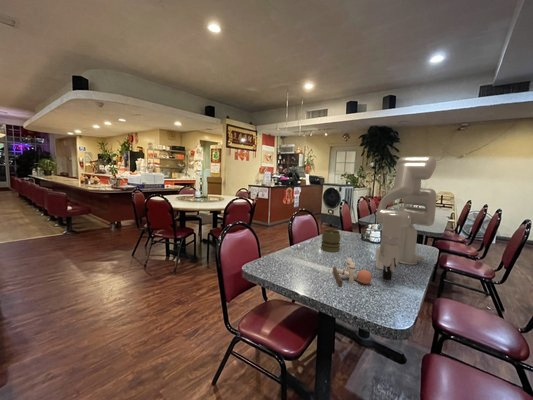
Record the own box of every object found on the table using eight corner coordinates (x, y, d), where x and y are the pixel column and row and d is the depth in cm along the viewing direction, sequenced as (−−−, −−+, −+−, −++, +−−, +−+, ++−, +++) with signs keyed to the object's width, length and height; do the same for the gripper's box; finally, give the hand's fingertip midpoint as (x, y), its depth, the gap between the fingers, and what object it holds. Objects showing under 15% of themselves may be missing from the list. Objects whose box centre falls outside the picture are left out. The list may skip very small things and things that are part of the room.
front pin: (357, 274, 112) (338, 267, 113) (358, 276, 110) (339, 269, 111) (355, 279, 112) (336, 272, 113) (356, 281, 110) (337, 273, 111)
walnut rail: (335, 271, 120) (335, 267, 120) (341, 286, 104) (342, 281, 104) (332, 271, 120) (333, 266, 120) (339, 286, 104) (339, 280, 104)
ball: (352, 274, 111) (361, 277, 113) (358, 285, 106) (368, 287, 108) (360, 265, 108) (369, 268, 110) (367, 276, 103) (377, 279, 105)
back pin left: (352, 281, 110) (354, 262, 109) (354, 283, 108) (355, 263, 107) (347, 280, 110) (349, 261, 109) (348, 282, 108) (350, 263, 107)
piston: (340, 230, 159) (340, 234, 148) (339, 248, 160) (339, 253, 149) (323, 228, 162) (321, 232, 151) (322, 246, 163) (320, 251, 152)
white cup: (381, 271, 123) (383, 252, 122) (370, 265, 131) (372, 247, 130) (394, 269, 125) (395, 251, 124) (383, 264, 133) (384, 246, 132)
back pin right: (350, 276, 115) (351, 258, 114) (351, 278, 113) (352, 259, 112) (345, 276, 115) (346, 257, 114) (346, 278, 113) (347, 259, 112)
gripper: (375, 235, 116) (372, 272, 117) (388, 244, 101) (384, 286, 103) (392, 236, 115) (388, 273, 117) (407, 245, 100) (402, 287, 102)
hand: (386, 279), depth 110 cm, fingers closed
